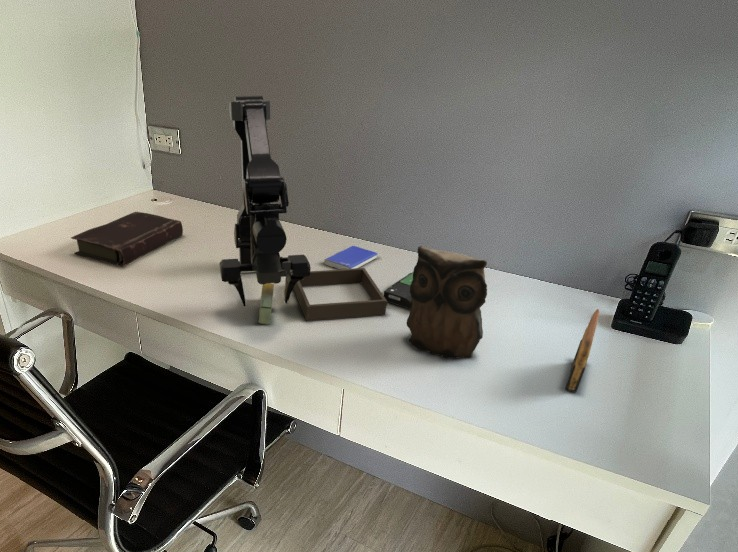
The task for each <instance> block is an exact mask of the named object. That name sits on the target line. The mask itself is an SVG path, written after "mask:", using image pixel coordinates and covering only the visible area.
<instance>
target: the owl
mask: <svg viewBox="0 0 738 552" xmlns="http://www.w3.org/2000/svg"><path fill="white" fill-rule="evenodd" d="M487 265H488V262H487V260H485V259H480V258H477V257H472V256H469V255H467V254H463V253H456V252H453V251H449V250H440V249H431V248H425V247H424V246H423V245H419V246H418V247H417V260H416V264H415V265H414V267H413V271H412V272H413V281H412V282H411V286H410V294H411V298H412V306H411V308H410V309H409V314H408V317H407V320H406V327H408V329H409V331H410V334H411V335H410V337H409V338H408V340H407V342H408V343H410V345H411V346H413V347H414V349H416V350H418V351H422V352H429V354H430V355H436V356H441V357H442V358H443V359H465V358H467V359H471V358H473V353H474V351H475V350H476V348H477V347H478V345H479V343H480V341H481V340H482V339H483V336H484V330H483V318H482V310H481V308H482V306H484V305H485V304H486V298H487V296H488V284H487V282H486V273H485V268H486V267H487Z"/></svg>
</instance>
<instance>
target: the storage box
mask: <svg viewBox="0 0 738 552" xmlns="http://www.w3.org/2000/svg"><path fill="white" fill-rule="evenodd" d="M345 284H346V285H347V284H361V285H362V287H363V288H364V289H365V291H366V293H367V294H368V296H369V298H370V299H369V300H356V301H343V302H342V301H341V302H332V303H331V302H327V303H316V304H315V303H314V304H310V302H309V299H308V296H307V294H306V292H305V290H304V288H303V287H315V286H331V285H345ZM293 291H294V293H295V296H296V298H297V301H298V303H299V305H300V308H301V310H302V314H303V316H304V318H305V320H306V322H309V321H310V322H311V321H324V320H338V319H351V318H364V317H378V316H386V313H387V312H386V311H387V306H388V305H387V304H388V301H387V300H386V299H385V297H384V293H383V292H382V291H381V290H380V288H379V287H378V285H377V284H376V283H375V281H374V279H373V278H372V276H370V274H369V272H368V271H367V270H366V268H365V267H359V268H355V269H326V270H325V269H324V270H310V276H308V277H304V279H303V280H299V281H298V282H297V283H296V284H295V286H294V288H293Z"/></svg>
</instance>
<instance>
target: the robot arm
mask: <svg viewBox="0 0 738 552" xmlns="http://www.w3.org/2000/svg"><path fill="white" fill-rule="evenodd" d="M228 106H229V107H228V108H229V120H230V121H232V127H233V128H234V131H236V134H237V135H238V137H239V139H240V158H241V159H240V162H241V188H242V191H241V192H242V205H241V207H240V209H239V210H238V212H237V214H236V223H234V229H233V239H234V245H235V249H238V252H239V253H238V255H239V257H238V258H225V259H221V260H220V262H219V272H220V277H221V278H220V279H221V282H223V283H227V284H228V285H230V286H231V285H232V286H234V288H235V289H236V291H237V293H238V295H239V298H240V300H241V303H242V305H243V307H246V305H247V304H246V301H247V300H246V295H245V292H244V285H243V280H242V279H243V278H242V275H241V274H253V273H254V274H256V275H255V276H256V282H257V284H259V285H263V284H267V283H271V284H274V285H276V284H280V283H281V282H282V278H284V277H285V279H284V280H285V282H284V292H283V293H284V294H283V296H284V304H288V303H289V300H290V297H291V295H292V292H293V291H294V289H293V288H294V286H295V284H296V283H297V282H298V281H299V280H303V279H304V277H308V276H310V271H311V268H312V267H311V264H310V261H309V260H308V257H307V256H306V255H305V254H289V255H288V256H287V257H285V256H284V257H283V256H281V255H280V252H281V251H282V250H284V248H285V247H286V244H287V234H286V231H285V230H284V227H283V225H282V223H281V221H280V214H287V213H288V210H287V208H288V207H289V204H290V202H289V194H288V187H287V182H285V178H284V177H283V176H281V172H280V167H279V164H278V163H277V162H276V161H275V160H274V159H273V158H272V155H271V149H270V143H269V141H270V140H269V135H268V126H267V120H271V101H270V100H264V97H263V95H235V96H234V99H233V101H229V103H228ZM279 201H280V203H278V202H279Z"/></svg>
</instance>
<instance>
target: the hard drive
mask: <svg viewBox="0 0 738 552" xmlns="http://www.w3.org/2000/svg"><path fill="white" fill-rule="evenodd" d="M377 258H378V253H377V252H375V251H372V250H371V249H366V248H362V247H359V246H356V245H351V246H349V247H347V248H345V249H342V250H341V251H339V252H337V253H335V254H333V255H330V256H328V257H326V258H325V259H324V262H323V263H324V265H326V266H329V267H332V268H335V269H336V270H339V269H355V268H362V267H363V266H364V265H366V264H368V263H370V262H372V261H373V260H376V259H377Z"/></svg>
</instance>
